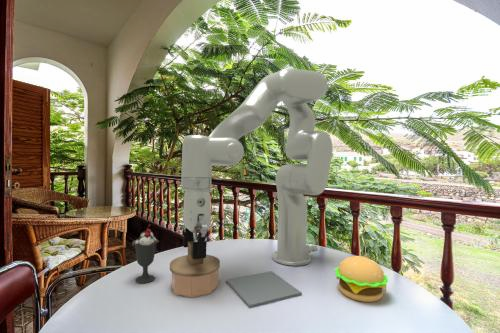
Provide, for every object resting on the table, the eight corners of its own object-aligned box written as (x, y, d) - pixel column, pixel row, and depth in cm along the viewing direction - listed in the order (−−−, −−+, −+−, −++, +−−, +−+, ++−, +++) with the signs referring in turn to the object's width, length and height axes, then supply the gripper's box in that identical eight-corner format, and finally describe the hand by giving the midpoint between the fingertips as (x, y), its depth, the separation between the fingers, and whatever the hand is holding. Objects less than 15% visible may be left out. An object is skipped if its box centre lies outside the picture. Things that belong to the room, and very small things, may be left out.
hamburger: (352, 308, 57) (352, 268, 57) (325, 283, 69) (326, 251, 69) (399, 303, 59) (400, 265, 59) (366, 280, 71) (367, 249, 71)
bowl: (209, 274, 73) (209, 256, 73) (222, 291, 64) (223, 270, 64) (168, 281, 69) (169, 262, 69) (176, 300, 59) (177, 278, 59)
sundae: (149, 286, 65) (150, 226, 65) (125, 283, 67) (126, 225, 67) (163, 275, 72) (164, 221, 72) (141, 273, 73) (142, 219, 73)
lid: (211, 255, 74) (211, 234, 74) (227, 271, 63) (227, 246, 63) (166, 261, 69) (166, 238, 69) (174, 280, 58) (175, 253, 58)
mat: (271, 273, 75) (271, 271, 75) (301, 295, 62) (301, 292, 62) (225, 281, 69) (225, 279, 69) (249, 308, 56) (249, 305, 56)
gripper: (222, 187, 60) (219, 261, 60) (201, 182, 75) (199, 241, 75) (189, 187, 57) (186, 266, 56) (174, 182, 72) (172, 244, 72)
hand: (193, 252), depth 66 cm, fingers open, 9 cm apart
